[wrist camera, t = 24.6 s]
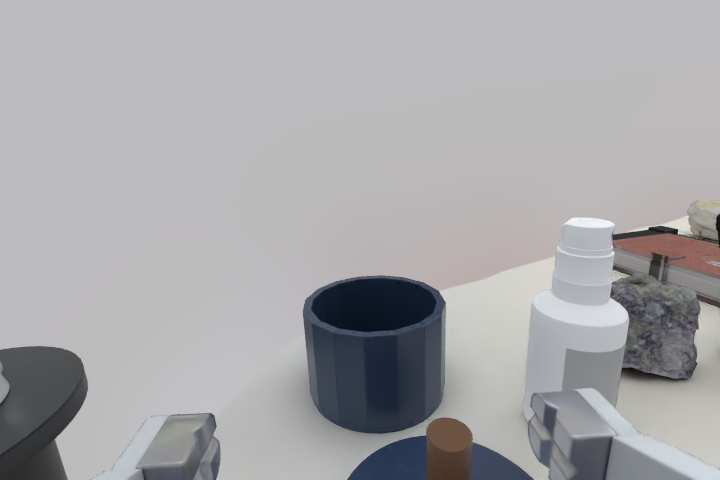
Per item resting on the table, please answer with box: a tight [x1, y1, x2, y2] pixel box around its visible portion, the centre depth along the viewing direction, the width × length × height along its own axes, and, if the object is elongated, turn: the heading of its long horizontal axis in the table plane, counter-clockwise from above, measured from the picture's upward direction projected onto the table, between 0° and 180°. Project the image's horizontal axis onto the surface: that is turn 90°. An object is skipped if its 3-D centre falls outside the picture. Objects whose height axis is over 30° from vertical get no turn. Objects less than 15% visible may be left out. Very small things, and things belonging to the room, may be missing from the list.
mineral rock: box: [610, 274, 700, 379], centre depth 41 cm, size 13×11×10 cm
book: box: [612, 226, 720, 307], centre depth 61 cm, size 26×18×5 cm
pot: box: [303, 276, 446, 433], centre depth 38 cm, size 14×14×10 cm
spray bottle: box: [523, 218, 629, 423], centre depth 31 cm, size 7×7×18 cm
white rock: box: [687, 200, 720, 240], centre depth 81 cm, size 12×8×10 cm
